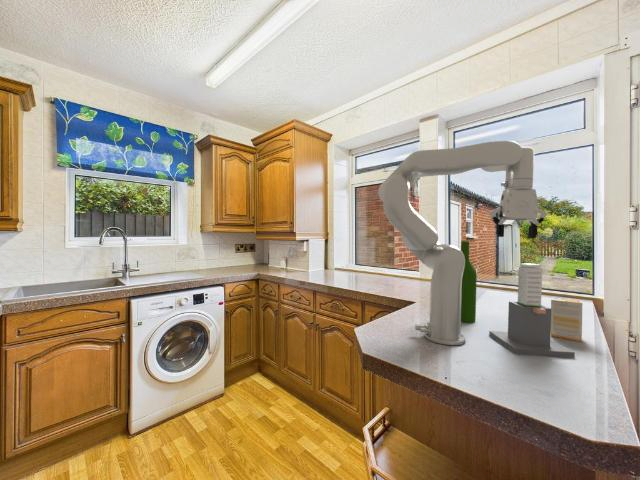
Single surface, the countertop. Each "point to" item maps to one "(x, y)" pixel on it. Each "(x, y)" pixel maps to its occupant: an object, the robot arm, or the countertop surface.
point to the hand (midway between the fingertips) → (516, 237)
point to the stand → (530, 332)
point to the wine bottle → (468, 288)
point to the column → (529, 285)
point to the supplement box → (566, 319)
